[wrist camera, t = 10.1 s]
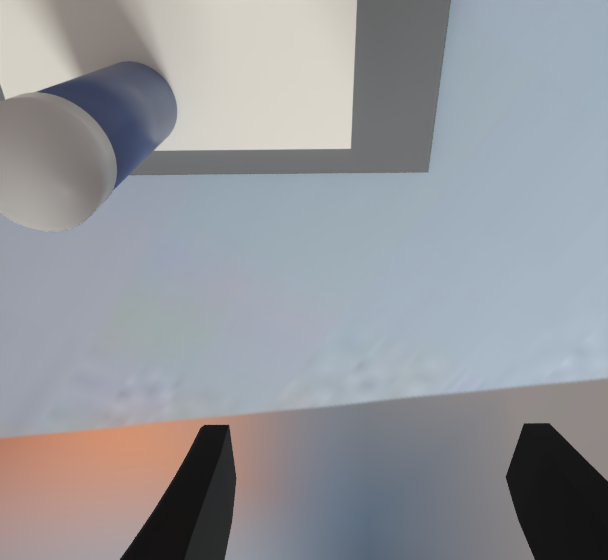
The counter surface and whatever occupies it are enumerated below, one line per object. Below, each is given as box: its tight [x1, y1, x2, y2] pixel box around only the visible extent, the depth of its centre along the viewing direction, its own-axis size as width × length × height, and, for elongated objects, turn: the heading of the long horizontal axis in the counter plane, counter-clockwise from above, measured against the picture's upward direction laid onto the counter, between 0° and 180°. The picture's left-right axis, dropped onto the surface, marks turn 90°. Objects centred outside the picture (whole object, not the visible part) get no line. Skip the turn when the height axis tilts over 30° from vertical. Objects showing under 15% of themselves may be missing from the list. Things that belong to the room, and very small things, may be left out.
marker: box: [0, 61, 177, 232], centre depth 13 cm, size 3×3×7 cm
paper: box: [0, 0, 357, 151], centre depth 15 cm, size 12×8×1 cm, turn 91°
